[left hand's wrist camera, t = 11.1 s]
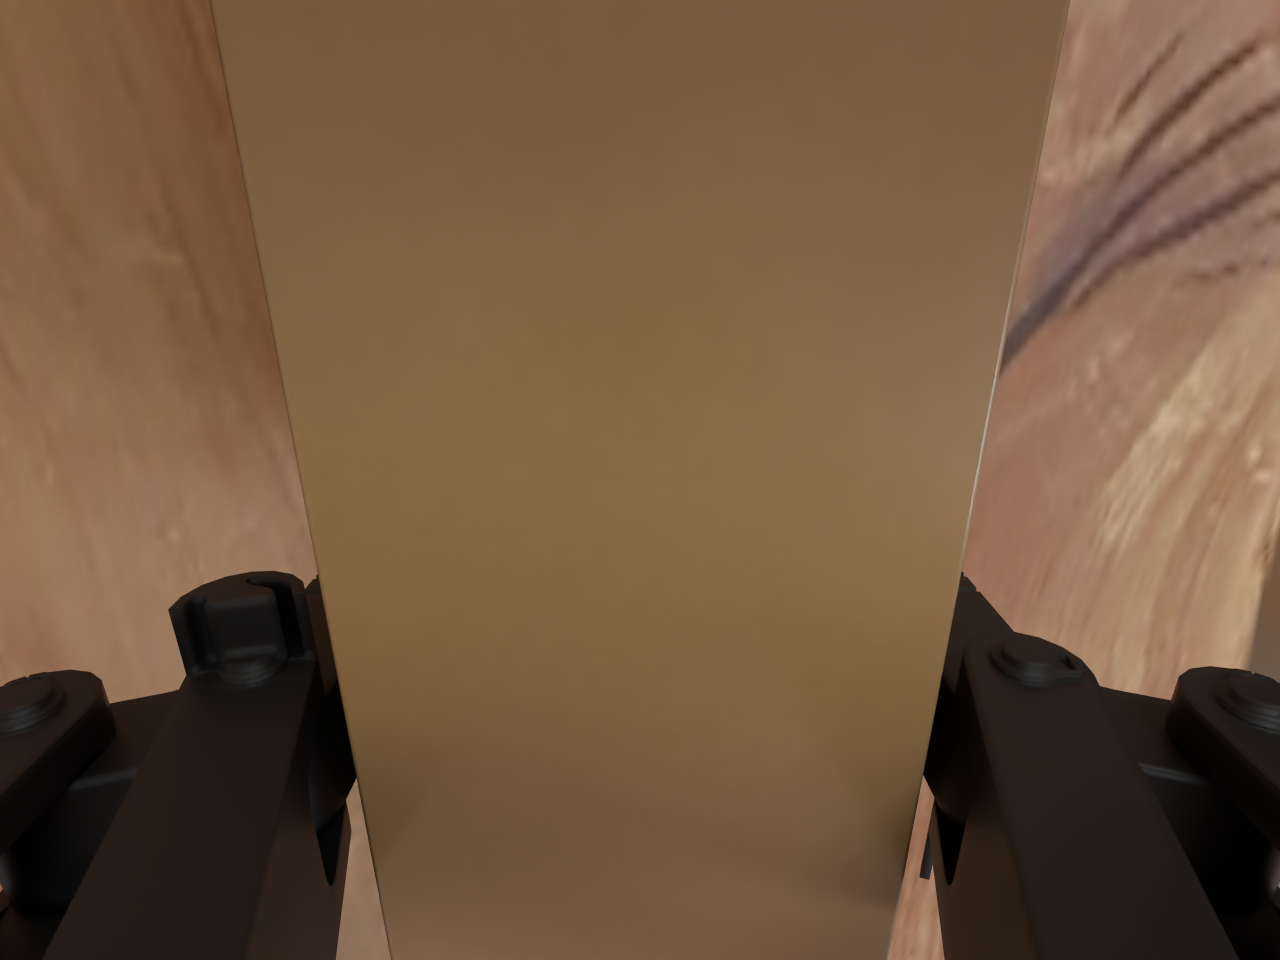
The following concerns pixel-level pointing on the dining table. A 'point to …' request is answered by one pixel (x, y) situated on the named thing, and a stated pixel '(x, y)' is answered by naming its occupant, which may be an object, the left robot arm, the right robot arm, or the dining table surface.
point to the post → (639, 437)
